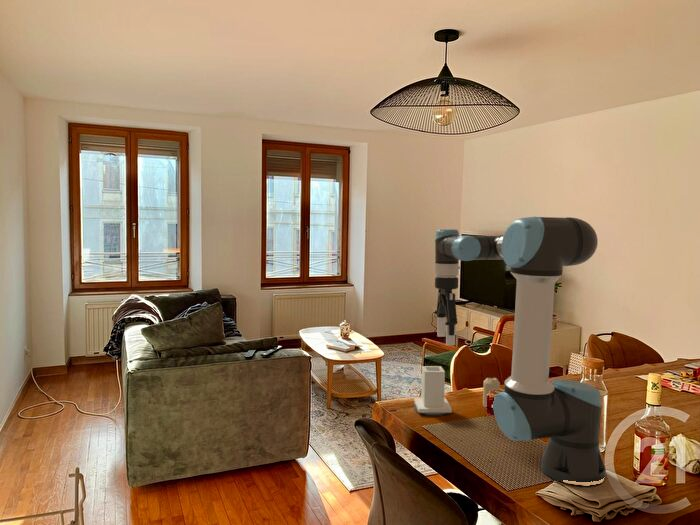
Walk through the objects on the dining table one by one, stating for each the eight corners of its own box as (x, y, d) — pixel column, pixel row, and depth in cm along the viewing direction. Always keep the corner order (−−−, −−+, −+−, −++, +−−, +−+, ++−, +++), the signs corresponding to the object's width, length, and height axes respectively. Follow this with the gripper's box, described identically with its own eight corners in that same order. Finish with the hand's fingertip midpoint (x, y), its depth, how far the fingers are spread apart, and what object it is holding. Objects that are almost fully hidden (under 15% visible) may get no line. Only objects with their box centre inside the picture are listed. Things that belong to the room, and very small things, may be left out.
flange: (452, 412, 173) (452, 373, 172) (418, 412, 173) (419, 373, 172) (445, 401, 184) (446, 364, 183) (413, 401, 184) (414, 364, 183)
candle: (497, 403, 185) (498, 375, 184) (500, 409, 179) (501, 380, 178) (481, 403, 185) (482, 375, 184) (484, 408, 180) (484, 380, 179)
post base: (453, 415, 173) (454, 392, 172) (416, 416, 173) (417, 392, 172) (446, 403, 185) (446, 380, 184) (411, 403, 185) (412, 380, 184)
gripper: (468, 280, 160) (466, 349, 162) (449, 273, 185) (448, 333, 186) (443, 280, 160) (442, 349, 161) (428, 273, 185) (427, 333, 186)
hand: (445, 340), depth 174 cm, fingers open, 13 cm apart
